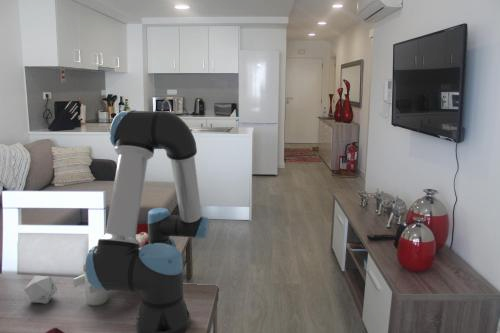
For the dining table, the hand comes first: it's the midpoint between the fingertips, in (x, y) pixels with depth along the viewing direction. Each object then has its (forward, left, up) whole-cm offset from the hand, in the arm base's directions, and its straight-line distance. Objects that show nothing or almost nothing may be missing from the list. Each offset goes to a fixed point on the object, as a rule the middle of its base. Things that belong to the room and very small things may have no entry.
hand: (81, 286), depth 128 cm
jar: (0, -5, -7) cm, 9 cm away
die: (+14, +5, -7) cm, 17 cm away
